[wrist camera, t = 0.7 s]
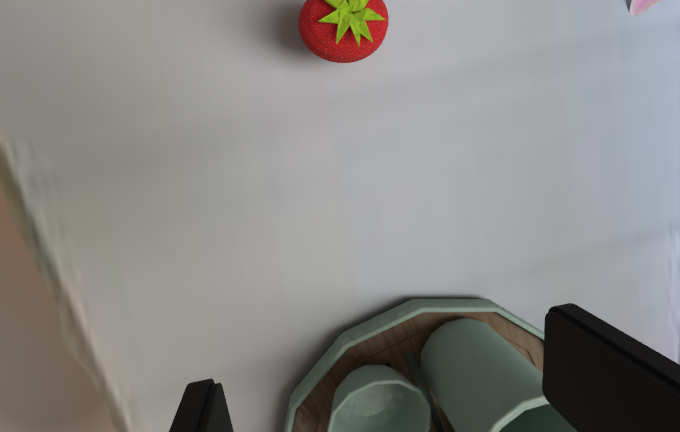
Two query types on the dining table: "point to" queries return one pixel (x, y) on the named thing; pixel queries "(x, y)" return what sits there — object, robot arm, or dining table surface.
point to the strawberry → (343, 28)
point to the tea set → (429, 374)
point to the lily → (641, 6)
